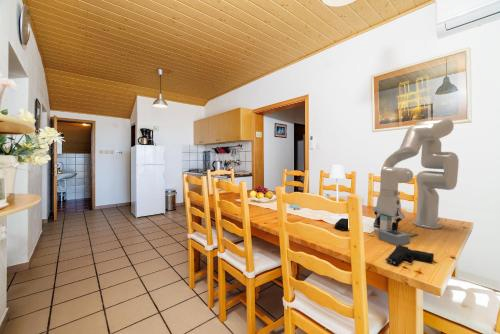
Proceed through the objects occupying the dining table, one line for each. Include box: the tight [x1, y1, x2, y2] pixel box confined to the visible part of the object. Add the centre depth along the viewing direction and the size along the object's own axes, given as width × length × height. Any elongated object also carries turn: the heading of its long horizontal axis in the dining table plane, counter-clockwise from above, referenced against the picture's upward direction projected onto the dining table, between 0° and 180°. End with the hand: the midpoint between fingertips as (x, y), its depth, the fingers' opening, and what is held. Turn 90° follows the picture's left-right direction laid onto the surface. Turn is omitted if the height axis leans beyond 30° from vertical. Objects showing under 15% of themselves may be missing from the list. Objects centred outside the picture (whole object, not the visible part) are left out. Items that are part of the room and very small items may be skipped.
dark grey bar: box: [410, 233, 419, 239], centre depth 108 cm, size 11×1×1 cm, turn 112°
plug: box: [379, 215, 393, 230], centre depth 111 cm, size 4×4×10 cm
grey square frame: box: [374, 228, 380, 235], centre depth 112 cm, size 7×7×2 cm
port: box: [377, 228, 411, 247], centre depth 104 cm, size 9×9×4 cm
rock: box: [373, 216, 379, 227], centre depth 126 cm, size 16×8×10 cm, turn 122°
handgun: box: [384, 245, 435, 267], centre depth 84 cm, size 3×17×12 cm
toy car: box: [334, 217, 350, 232], centre depth 123 cm, size 8×17×5 cm, turn 136°
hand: (386, 227), depth 110 cm, fingers open, 7 cm apart
